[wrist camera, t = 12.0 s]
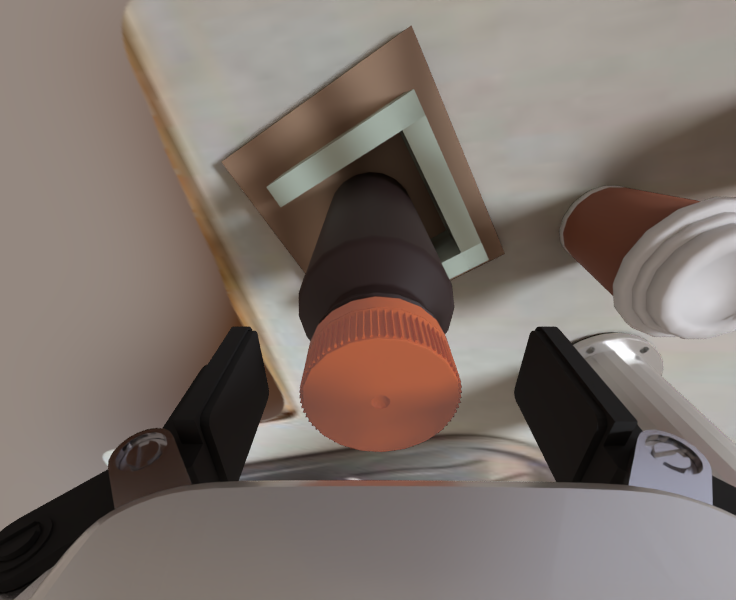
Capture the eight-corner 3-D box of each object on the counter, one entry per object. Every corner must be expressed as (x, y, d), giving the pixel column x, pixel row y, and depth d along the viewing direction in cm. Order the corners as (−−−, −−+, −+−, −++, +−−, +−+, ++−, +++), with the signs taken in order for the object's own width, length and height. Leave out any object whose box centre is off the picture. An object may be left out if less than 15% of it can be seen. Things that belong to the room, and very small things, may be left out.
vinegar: (357, 152, 25) (340, 257, 8) (429, 202, 27) (544, 376, 10) (314, 227, 28) (231, 425, 11) (382, 267, 30) (405, 492, 12)
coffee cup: (642, 142, 26) (828, 168, 15) (664, 237, 30) (826, 309, 19) (528, 209, 28) (622, 269, 18) (561, 288, 32) (655, 376, 22)
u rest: (409, 28, 22) (422, 5, 17) (500, 249, 30) (528, 279, 25) (226, 160, 26) (191, 173, 21) (348, 325, 34) (345, 364, 29)
